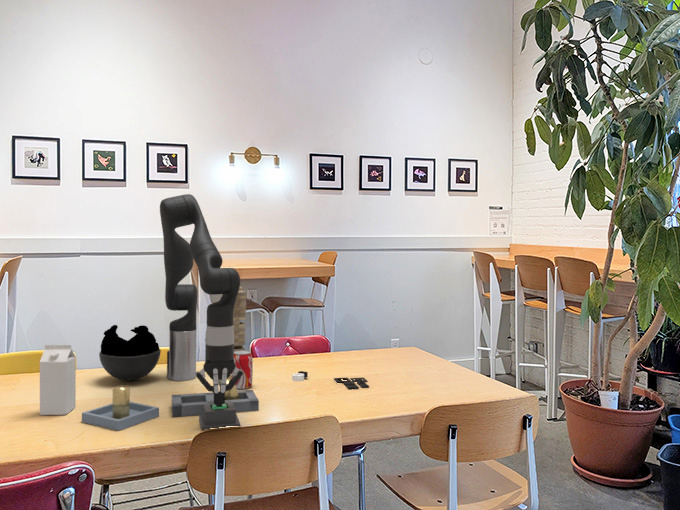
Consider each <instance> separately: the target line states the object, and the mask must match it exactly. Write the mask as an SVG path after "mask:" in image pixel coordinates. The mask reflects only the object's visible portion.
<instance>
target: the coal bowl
mask: <svg viewBox="0 0 680 510" xmlns="http://www.w3.org/2000/svg"><path fill="white" fill-rule="evenodd" d="M118 328H119V327H118V325H117V324H113V325H112V326H110V328H108V329H107V330H105V331H104V332H103V335H104V336H103V338H102V340H101V344H100V351H99V354H98V355H99V361H100V364H101V366H102V368H103V369H104V371H105V372H106V373H107V374H109V375H110V376H111V377H113V378H115V379H116V380H120V381H126V382H128V381H129V382H130V381H137V380H140V379H142V378H145V377H146V376H147V375H149V374H150V373H151V372H152V371H153V370H154V368H156V366H157V364H158V363H159V360H160V357H161V351H162V349H160V346H159V343H158V342H157V339H156V337H155V335H154V334H153V333H152V332H151V331H149V327H148V326H147V325H143V324H142V325H138V326H135V327H133V329H130V332H132V333H134V335H133V336H132V337H131V338H130V339H128V340H127V339H125V338H123V337H120V336H119V334H118V333H117V330H118Z"/></svg>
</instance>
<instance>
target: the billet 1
mask: <svg viewBox="0 0 680 510" xmlns="http://www.w3.org/2000/svg"><path fill="white" fill-rule="evenodd" d="M130 395H131V386H130V385H126V384H122V385H121V384H120V385H116V386H113V387H112V403H113V418H115V419H122V418H125V417H128V416H130V402H131V400H130V399H131V397H130Z"/></svg>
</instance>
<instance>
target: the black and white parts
mask: <svg viewBox="0 0 680 510" xmlns="http://www.w3.org/2000/svg"><path fill="white" fill-rule="evenodd" d="M308 377H309V376H308V371H301V370H300V371H297V373H295V372H294V373H292V376H291V380H292V381H293V382H303V381H304V380H305V379H307V378H308ZM341 379H343V380H347V381H342V380H341ZM350 379H351V380H352V381H351V380H350ZM353 379H355V380H353ZM362 379H363V380H362ZM334 380H335V381H336V382H337V383H342V384H343V386H345V388H346V389H347V390H352V389H353V390H359V388H361V389H369V388H370V385H369V384H368V382H369V381H368V380H367V379H366V378H365V377H351V378H348V377H334V378H333V381H334ZM335 381H334V382H335ZM336 382H335V383H336ZM354 382H357V383H354ZM337 383H336V384H337Z"/></svg>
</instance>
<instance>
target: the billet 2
mask: <svg viewBox="0 0 680 510" xmlns="http://www.w3.org/2000/svg"><path fill="white" fill-rule="evenodd" d="M231 379H232V376H231V375H230V376H229V378H227V379H226V385H227V384H228V383H229V381H230V380H231ZM218 386H219V388H220V380H218ZM238 391H239V390H238V389H236V386H235V385H234V387H233V388H232V389H231V390H228V391H226V392H225V400H238V399H240V396H239V394H238Z"/></svg>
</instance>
